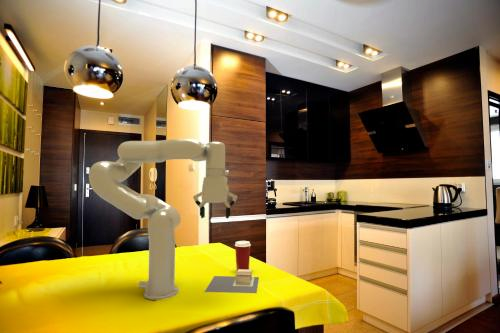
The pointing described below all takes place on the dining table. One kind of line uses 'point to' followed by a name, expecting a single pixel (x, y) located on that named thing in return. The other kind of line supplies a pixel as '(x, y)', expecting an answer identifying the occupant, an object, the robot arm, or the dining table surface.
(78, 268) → the dining table surface
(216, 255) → the dining table surface
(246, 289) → the mat
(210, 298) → the dining table surface
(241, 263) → the paper cup
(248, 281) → the card box
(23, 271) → the dining table surface
